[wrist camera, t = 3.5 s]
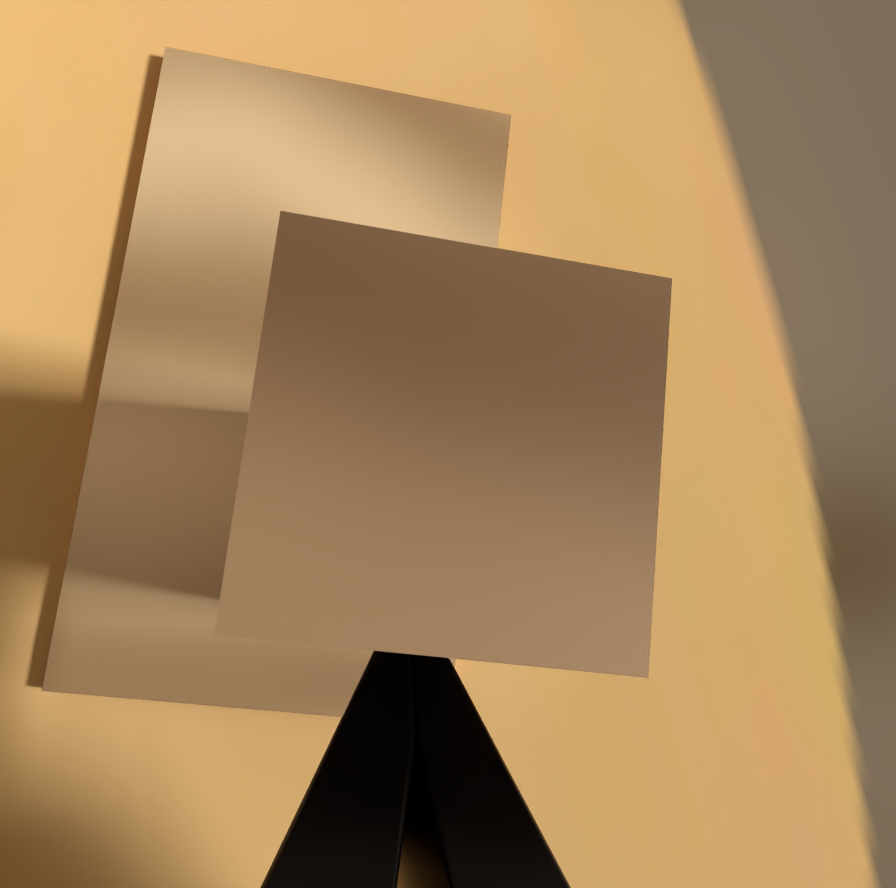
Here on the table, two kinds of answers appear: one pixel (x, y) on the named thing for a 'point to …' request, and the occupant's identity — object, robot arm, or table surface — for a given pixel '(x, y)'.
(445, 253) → the walnut block
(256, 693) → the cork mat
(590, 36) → the table surface
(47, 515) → the table surface
